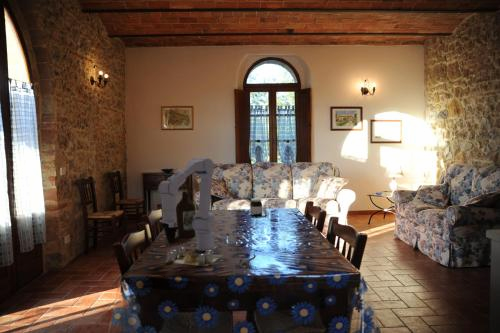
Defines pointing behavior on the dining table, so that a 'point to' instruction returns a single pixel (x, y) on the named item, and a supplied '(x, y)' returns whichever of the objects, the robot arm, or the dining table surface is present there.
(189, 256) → the nut
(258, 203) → the spread jar
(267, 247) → the dining table surface
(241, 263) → the pliers
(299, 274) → the dining table surface
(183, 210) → the olive oil
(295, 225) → the dining table surface
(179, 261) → the board
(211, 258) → the grey piece
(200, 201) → the robot arm
